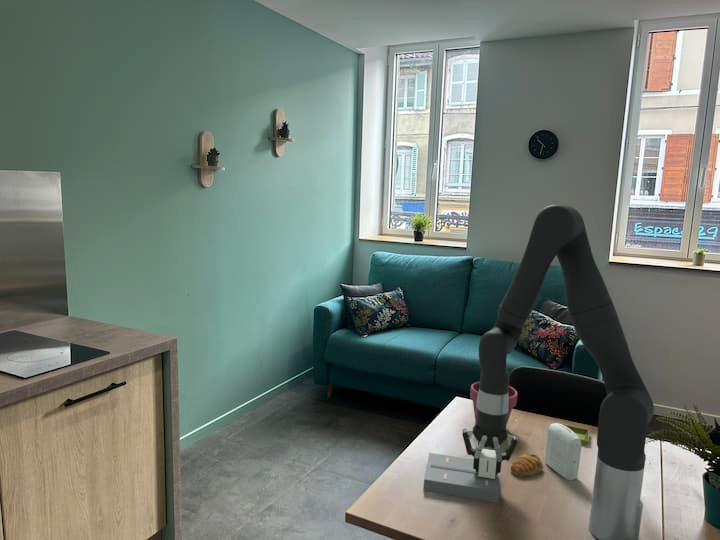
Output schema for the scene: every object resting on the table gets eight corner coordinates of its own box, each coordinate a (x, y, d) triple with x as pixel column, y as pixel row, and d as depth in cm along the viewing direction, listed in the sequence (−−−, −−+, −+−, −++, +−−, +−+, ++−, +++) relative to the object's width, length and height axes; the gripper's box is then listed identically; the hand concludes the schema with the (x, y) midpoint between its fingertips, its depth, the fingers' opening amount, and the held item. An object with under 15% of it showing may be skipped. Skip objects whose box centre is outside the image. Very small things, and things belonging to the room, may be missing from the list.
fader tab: (494, 468, 136) (495, 450, 136) (494, 478, 131) (496, 460, 131) (478, 466, 137) (479, 448, 136) (478, 476, 132) (479, 457, 132)
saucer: (588, 447, 159) (588, 440, 159) (557, 440, 163) (557, 434, 163) (588, 436, 167) (589, 429, 167) (559, 429, 171) (560, 423, 170)
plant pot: (521, 428, 170) (525, 389, 168) (500, 442, 159) (504, 401, 157) (481, 414, 179) (484, 377, 177) (459, 426, 169) (462, 387, 167)
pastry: (525, 482, 138) (527, 468, 137) (503, 471, 143) (504, 458, 142) (544, 470, 144) (546, 457, 143) (522, 461, 149) (523, 448, 148)
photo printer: (580, 479, 140) (585, 435, 138) (566, 481, 139) (571, 436, 137) (555, 460, 150) (559, 418, 148) (542, 461, 148) (546, 419, 147)
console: (496, 473, 141) (497, 462, 140) (498, 502, 127) (499, 490, 127) (428, 463, 145) (429, 452, 144) (423, 490, 131) (424, 478, 131)
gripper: (462, 409, 130) (457, 475, 132) (523, 417, 127) (516, 484, 129) (463, 398, 137) (458, 460, 139) (520, 405, 134) (514, 469, 136)
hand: (486, 471), depth 134 cm, fingers closed on fader tab, 4 cm apart
